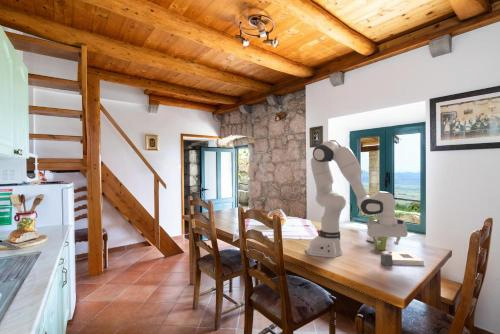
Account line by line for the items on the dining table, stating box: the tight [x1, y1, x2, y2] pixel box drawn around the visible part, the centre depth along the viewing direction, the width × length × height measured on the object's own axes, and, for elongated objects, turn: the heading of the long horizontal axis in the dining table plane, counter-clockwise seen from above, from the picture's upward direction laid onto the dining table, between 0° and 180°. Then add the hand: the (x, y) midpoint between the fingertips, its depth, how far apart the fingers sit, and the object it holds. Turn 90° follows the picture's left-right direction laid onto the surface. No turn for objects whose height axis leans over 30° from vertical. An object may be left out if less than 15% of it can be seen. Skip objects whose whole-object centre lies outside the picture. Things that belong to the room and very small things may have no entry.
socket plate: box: [382, 250, 425, 266], centre depth 143 cm, size 16×14×3 cm
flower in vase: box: [363, 213, 378, 243], centre depth 179 cm, size 13×11×25 cm
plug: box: [380, 251, 393, 267], centre depth 138 cm, size 4×5×6 cm
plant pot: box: [373, 237, 389, 251], centre depth 163 cm, size 9×9×9 cm
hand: (387, 244), depth 138 cm, fingers open, 8 cm apart
